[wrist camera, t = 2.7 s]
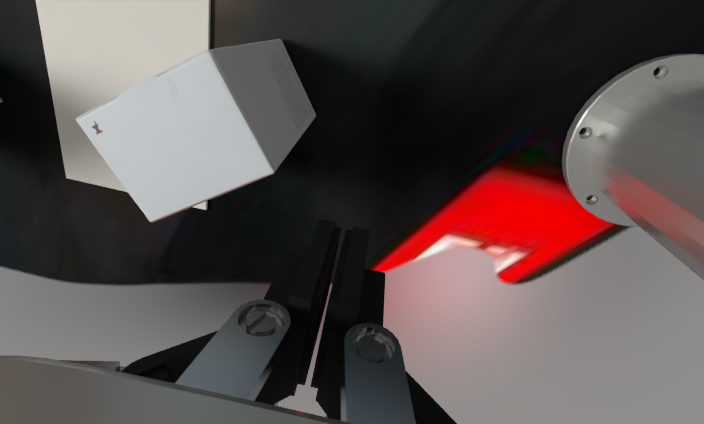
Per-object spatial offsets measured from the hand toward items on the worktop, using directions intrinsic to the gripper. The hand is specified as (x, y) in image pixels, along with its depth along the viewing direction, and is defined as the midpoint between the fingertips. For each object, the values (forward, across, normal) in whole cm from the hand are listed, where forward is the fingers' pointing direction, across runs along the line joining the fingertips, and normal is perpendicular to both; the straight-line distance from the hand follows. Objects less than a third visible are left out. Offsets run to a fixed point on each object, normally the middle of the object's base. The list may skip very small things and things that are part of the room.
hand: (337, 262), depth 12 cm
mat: (+20, +20, +1) cm, 28 cm away
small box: (+20, +9, 0) cm, 22 cm away
